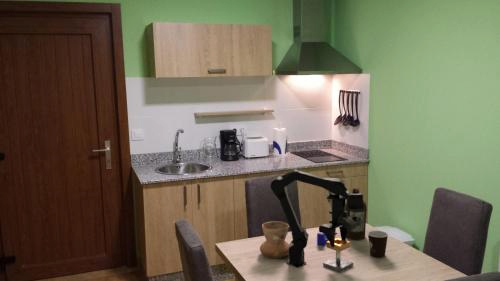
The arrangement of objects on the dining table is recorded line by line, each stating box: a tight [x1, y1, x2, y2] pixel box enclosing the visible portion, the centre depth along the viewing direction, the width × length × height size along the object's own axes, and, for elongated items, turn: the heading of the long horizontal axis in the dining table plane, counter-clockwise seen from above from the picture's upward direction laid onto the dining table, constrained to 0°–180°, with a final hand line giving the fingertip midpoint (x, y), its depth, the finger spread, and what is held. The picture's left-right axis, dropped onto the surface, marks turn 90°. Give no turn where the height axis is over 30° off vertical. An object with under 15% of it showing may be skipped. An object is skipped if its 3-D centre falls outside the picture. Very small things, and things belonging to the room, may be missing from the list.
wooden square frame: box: [325, 237, 351, 252], centre depth 192 cm, size 7×7×2 cm
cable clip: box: [316, 232, 328, 247], centre depth 222 cm, size 12×4×6 cm, turn 148°
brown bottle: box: [345, 187, 368, 241], centre depth 226 cm, size 11×11×25 cm
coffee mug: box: [367, 230, 389, 259], centre depth 205 cm, size 12×9×10 cm
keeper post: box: [322, 251, 354, 273], centre depth 193 cm, size 9×9×8 cm
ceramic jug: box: [259, 220, 290, 259], centre depth 207 cm, size 18×14×14 cm
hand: (338, 244), depth 192 cm, fingers closed on wooden square frame, 7 cm apart
